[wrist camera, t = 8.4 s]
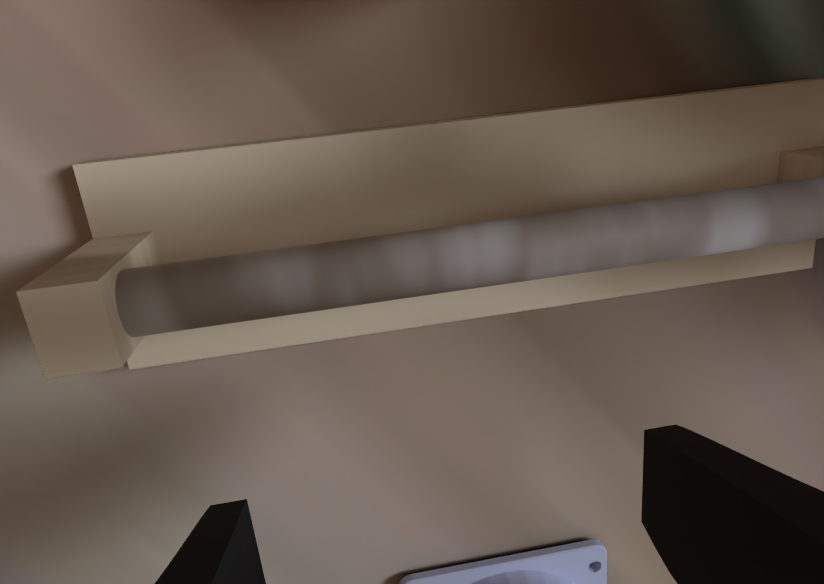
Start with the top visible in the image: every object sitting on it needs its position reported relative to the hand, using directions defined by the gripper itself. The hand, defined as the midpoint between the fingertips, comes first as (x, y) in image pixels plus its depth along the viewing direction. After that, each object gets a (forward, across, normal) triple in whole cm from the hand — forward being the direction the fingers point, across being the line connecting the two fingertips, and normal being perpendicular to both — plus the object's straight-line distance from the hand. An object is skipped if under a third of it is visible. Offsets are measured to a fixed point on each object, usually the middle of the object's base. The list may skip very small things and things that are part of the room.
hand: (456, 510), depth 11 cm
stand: (+9, -3, -3) cm, 10 cm away
